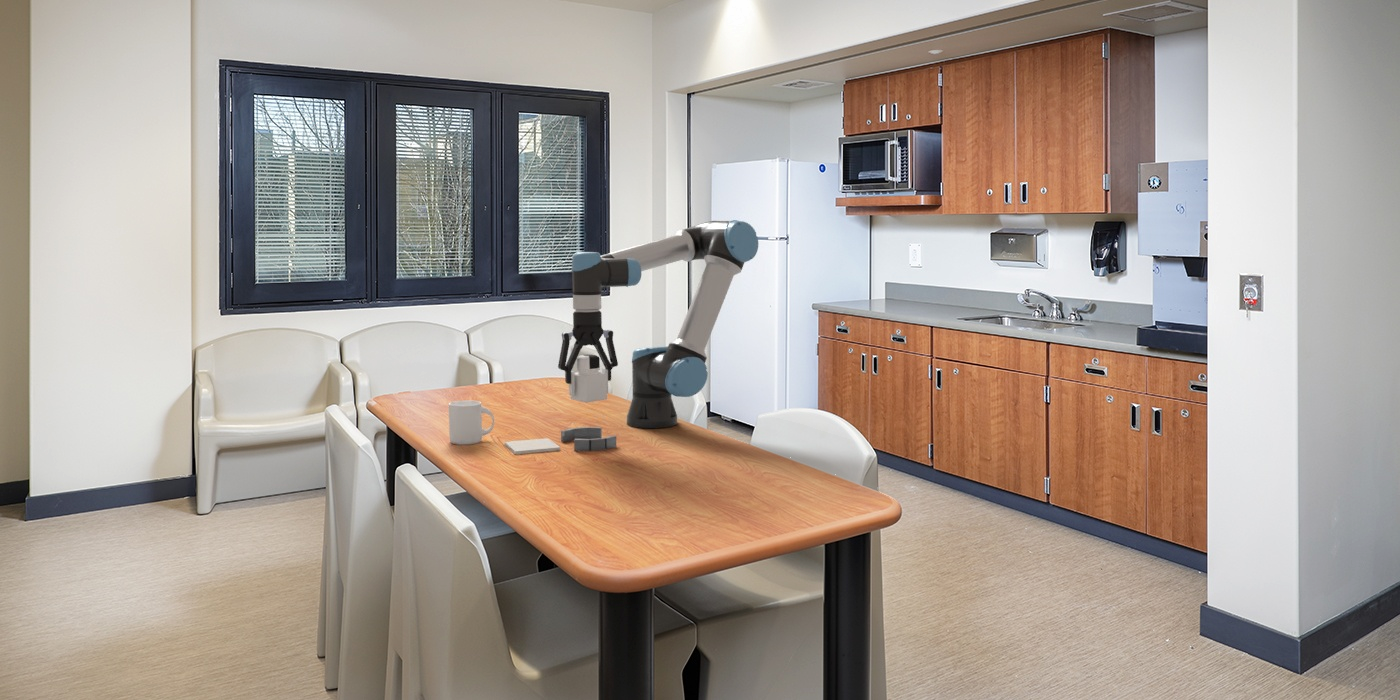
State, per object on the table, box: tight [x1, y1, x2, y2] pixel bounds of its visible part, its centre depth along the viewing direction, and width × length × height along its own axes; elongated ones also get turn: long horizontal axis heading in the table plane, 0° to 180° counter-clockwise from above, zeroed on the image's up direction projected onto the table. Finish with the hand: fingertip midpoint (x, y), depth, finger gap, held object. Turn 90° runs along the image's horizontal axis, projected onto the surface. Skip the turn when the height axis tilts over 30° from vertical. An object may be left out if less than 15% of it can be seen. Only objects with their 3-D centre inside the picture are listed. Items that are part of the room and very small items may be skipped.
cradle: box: [560, 426, 617, 452], centre depth 260 cm, size 12×16×3 cm
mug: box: [448, 399, 495, 446], centre depth 263 cm, size 9×12×11 cm
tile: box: [503, 437, 561, 455], centre depth 256 cm, size 12×12×1 cm
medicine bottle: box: [570, 354, 608, 403], centre depth 258 cm, size 7×7×12 cm
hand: (588, 394), depth 259 cm, fingers closed on medicine bottle, 9 cm apart
